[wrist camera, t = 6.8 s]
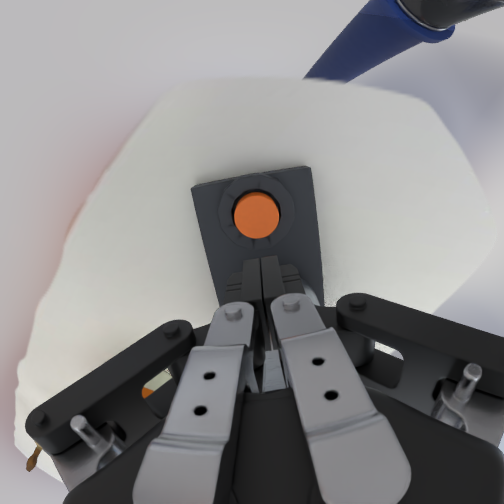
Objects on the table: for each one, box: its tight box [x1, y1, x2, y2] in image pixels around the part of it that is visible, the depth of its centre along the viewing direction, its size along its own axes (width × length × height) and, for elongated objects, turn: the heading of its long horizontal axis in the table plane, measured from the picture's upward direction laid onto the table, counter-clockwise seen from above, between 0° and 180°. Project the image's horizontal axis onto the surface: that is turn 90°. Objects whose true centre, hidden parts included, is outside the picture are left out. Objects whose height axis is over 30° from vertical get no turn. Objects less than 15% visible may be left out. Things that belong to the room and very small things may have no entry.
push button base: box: [191, 166, 324, 307], centre depth 28 cm, size 17×11×4 cm, turn 10°
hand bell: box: [26, 441, 43, 472], centre depth 42 cm, size 8×8×16 cm
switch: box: [234, 192, 279, 239], centre depth 23 cm, size 4×4×2 cm
